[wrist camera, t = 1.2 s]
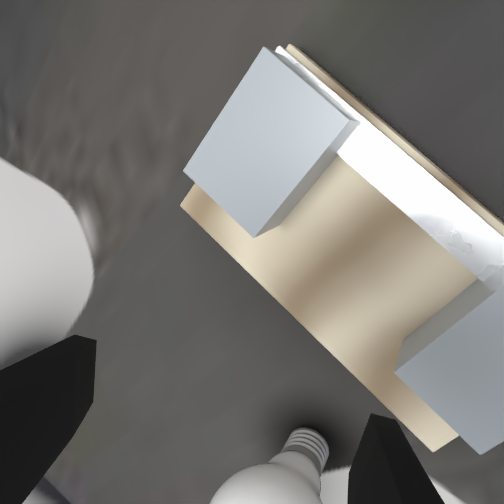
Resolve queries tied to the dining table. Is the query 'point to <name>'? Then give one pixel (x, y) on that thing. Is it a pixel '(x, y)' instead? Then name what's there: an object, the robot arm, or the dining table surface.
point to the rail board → (360, 245)
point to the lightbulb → (281, 475)
